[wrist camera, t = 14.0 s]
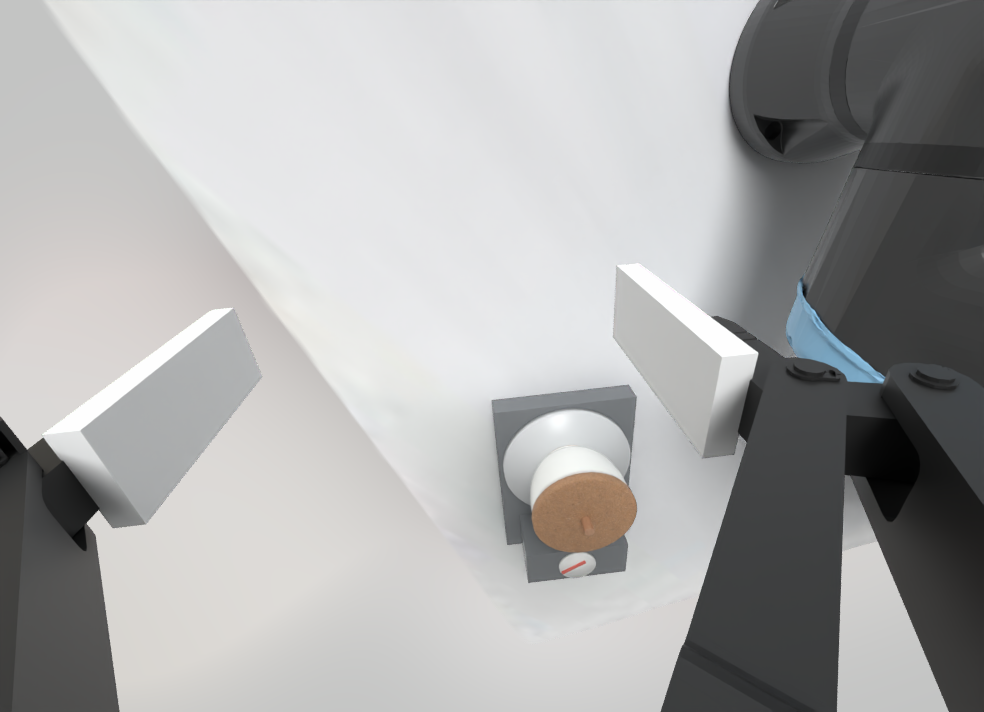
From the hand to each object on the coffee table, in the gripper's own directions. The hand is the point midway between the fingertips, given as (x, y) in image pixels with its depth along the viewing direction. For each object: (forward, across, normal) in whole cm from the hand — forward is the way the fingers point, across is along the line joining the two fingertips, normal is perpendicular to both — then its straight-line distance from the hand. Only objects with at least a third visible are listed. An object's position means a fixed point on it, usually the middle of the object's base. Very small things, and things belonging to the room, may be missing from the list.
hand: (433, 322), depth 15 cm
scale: (+27, +10, -33) cm, 44 cm away
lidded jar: (+23, +10, -30) cm, 39 cm away
